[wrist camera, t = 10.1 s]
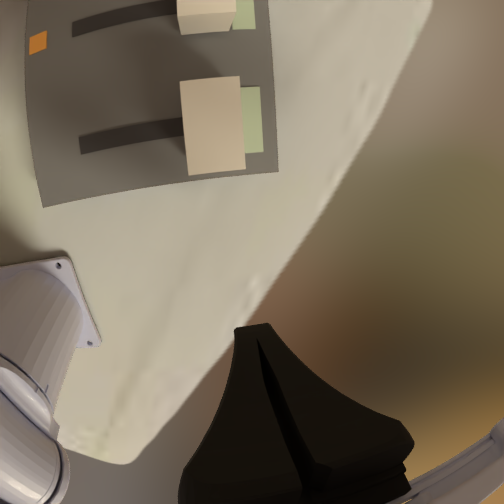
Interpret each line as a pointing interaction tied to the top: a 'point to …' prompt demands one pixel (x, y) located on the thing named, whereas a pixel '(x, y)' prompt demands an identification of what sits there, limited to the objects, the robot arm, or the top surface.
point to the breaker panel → (135, 93)
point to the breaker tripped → (205, 15)
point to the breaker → (213, 124)
